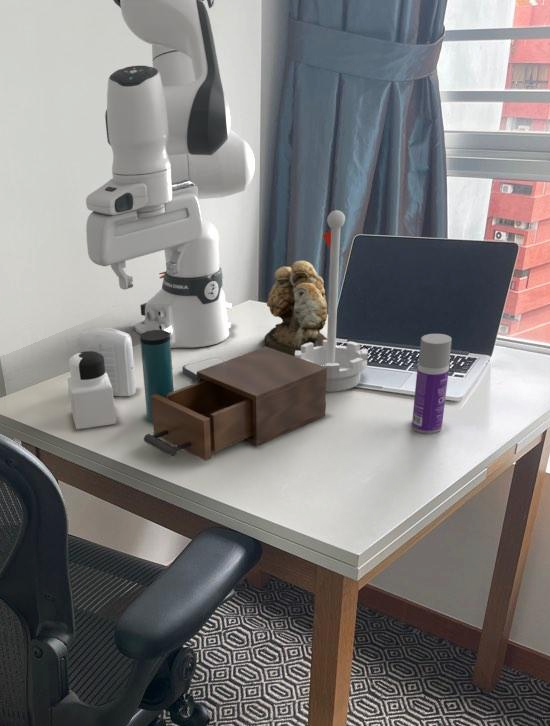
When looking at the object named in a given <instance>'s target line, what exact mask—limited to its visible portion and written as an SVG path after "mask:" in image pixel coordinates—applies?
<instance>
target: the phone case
mask: <svg viewBox="0 0 550 726" xmlns="http://www.w3.org/2000/svg"><path fill="white" fill-rule="evenodd" d="M224 361H226V360H225V359H222V358H220V357H216V356H215V357H210V358H207V359H203V360H199V361H196V362H192V363H188V364H185V365H183V366H182V368H181V369H182V374H183V375H184V376H186V377H188V378H190V379H191V380H193V381H195V382H197V371H200V370H203V369H205V368H208V367H211V366H214V365H216V364H219V363H222V362H224Z"/></svg>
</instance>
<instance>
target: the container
mask: <svg viewBox="0 0 550 726" xmlns="http://www.w3.org/2000/svg"><path fill="white" fill-rule="evenodd" d="M452 340H453V339H452V337H451V336H449V335H447V334H444V333H428V334H424V335H423V336H421V338H420V346H419V353H418V361H417V368H416V380H415V388H414V399H413V408H412V409H413V410H412V417H411V419H412V420H411V428H412V430H413V431H415V432H416V433H419V434H425V435H426V434H427V435H428V434H429V435H430V434H436V433H439V432H440V431H442V428H443V422H444V421H443V420H444V412H445V404H446V396H447V389H448V388H447V387H448V380H449V371H450V361H451V351H452V350H451V349H452V342H453V341H452Z"/></svg>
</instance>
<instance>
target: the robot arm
mask: <svg viewBox="0 0 550 726" xmlns="http://www.w3.org/2000/svg"><path fill="white" fill-rule="evenodd" d="M112 1H113V3H115V4H116V5H117V6H118V7H119V8H120V11H121V17H122V18H123V21H124V24H125V25H126V26H127V28H128V29H129V30H130V31H131V32H132V33H133V35H134V36H136V37H137V38H138V39H139V40H141V41H143V42H144V43H147V44H149V45H151V56H152V57H151V59H152V60H151V61H152V66H150V65H149V66H148V65H130V66H126V67H124V68H123V67H122V68H119V69H117V70H115V71H113V72H112V73H111V74H110V75H109V77H108V80H107V93H106V110H105V115H104V117H105V129H106V130H105V131H106V138H107V143H108V145H109V146H110V147H111V150H112V164H111V175H112V178H110V179H109V180H108V181H107V182H105V183H104V184H103V185H101V186H100V187H99V188H97V189H95V190H94V191H92V192H91V193H89V194H88V195H87V196H86V198H85V205H86V208H87V210H88V211H91V212H90V214H89V215H88V216H87V219H86V226H85V227H86V228H85V230H86V231H85V232H86V246H87V255H88V258H89V259H90V261H91V262H92V263H93V264H95V265H98V266H101V267H110V268H111V270H112V271H113V272H114V274H115V275H116V277H117V278H118V284H119V285H118V286H119V288H120V289H122V290H125V291H126V290H129V289H131V288H133V287H134V283H133V281H134V279H133V276H131V275H128V274H127V273H126V271H125V270H124V269H126V267H127V266H126V265H127V264H126V261H129V260H133V259H136V258H140V257H143V256H146V255H150V254H151V255H152V254H155V253H157V252H161V251H164V256H165V257H164V258H165V268H166V269H165V271H163V272H159V273H158V274H159V275H161V276H159V279H163V280H162V284H161V289H160V290H158V291H157V293H156V294H154V295H153V296H152V297H151V298H150V299H149V300H148V301H147V302H144V303H142V304H140V306H139V307H140V315H141V316H144V320H142V321H140V322H139V323H137V324H136V325H135V326H134V329H135V330H134V331H136V333H138V334H140V335H141V334H142V333H144V332H147V331H151V330H165V331H168V332H169V333H170V344H171V349H175V348H185V349H187V348H189V349H191V348H193V349H194V348H203V347H204V348H205V347H208V346H213V345H216V344H219V343H222V342H224V341H226V340H227V339H228V338H229V337H230V336H231V335H230V334H231V333H230V329H231V328H232V323H231V321H230V320H229V318H228V310H227V308H232V303H229V302H226V296H225V292H224V290H223V288H222V287H223V279H224V276H223V269H222V267H220V265H221V263H220V239H219V238H220V237H219V232H218V230H217V228H216V226H215V225H214V224H213V223H212V222H210V221H209V220H208V219H205V218H203V217H202V214H201V207H200V203H199V200H207V199H217V198H220V199H221V198H225V197H228V196H232V195H235V194H238V193H242V192H244V191H245V190H247V188H248V187H249V186H250V185H251V182H252V179H253V177H254V175H255V169H256V168H255V167H256V159H255V156H254V152H253V150H252V147H251V146H250V145H249V143H248V142H247V140H245V139H244V138H243V137H241V136H240V135H238V134H237V133H236V132H235V131H233V130H232V128H231V110H230V109H231V108H230V105H229V101H228V99H227V98H228V97H227V96H226V93H225V90H224V88H223V82H222V78H221V73H220V67H219V60H218V56H217V51H216V50H217V49H216V43H215V38H214V34H213V30H212V29H213V28H212V25H211V20H210V15H209V12H208V10H207V7H208V9H211V8H213V6H214V5H215V0H206V2H207V7H206V5H205V4H204V2H205V0H112Z"/></svg>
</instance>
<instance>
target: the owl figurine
mask: <svg viewBox="0 0 550 726" xmlns="http://www.w3.org/2000/svg"><path fill="white" fill-rule="evenodd" d="M273 276H274V280H275V283H274V284H273V285H272V287H271V290H270V291H269V292H268V301H267V302H266V306H267V307H269V312H270V314H271V315H273V317H275V318H277V317H278V318H279V319H281V320H282V322H280V323H277V324H275V327H273V328H271V329H270V330H269V331H268V332H266V334H265V336H264V338H263V339H264V347H265V346H266V347H269V348H272V349H275V350H277V351H280V352H283V353H286V354H289V355H292V356H295V351H301V345H304V344H306V343H309V342H311V343H313V344H314V347H317V346H323V340H327V336H326V335H324V334H323V333H321V331H322V330H323V329H324V327H325V325H326V321H327V320H328V303H327V300H326V295H325V294H326V290H325V287H324V286H325V285H324V284H325V281H324V279H323V277H322V276H320V275H319V274H318V273H317V272H316V269H315V267H314V265H313V264H312V263H311V262H310V261H306V260H296V261H294V262H293V263H292V264H291V266H282V267H279V268H278V269H276V270H275V272H274V275H273Z"/></svg>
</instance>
